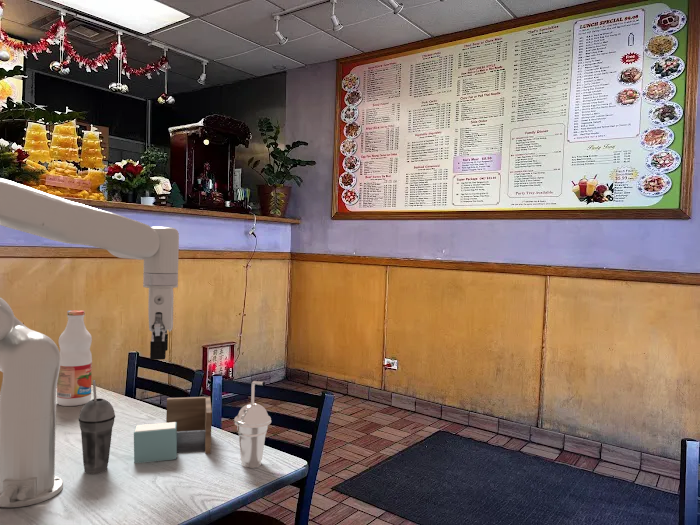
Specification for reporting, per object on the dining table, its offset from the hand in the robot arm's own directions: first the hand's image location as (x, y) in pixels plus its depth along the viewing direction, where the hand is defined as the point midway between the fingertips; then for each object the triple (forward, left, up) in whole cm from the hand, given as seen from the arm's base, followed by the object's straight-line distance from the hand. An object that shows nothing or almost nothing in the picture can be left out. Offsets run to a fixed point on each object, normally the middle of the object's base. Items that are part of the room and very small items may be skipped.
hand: (159, 354), depth 126 cm
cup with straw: (-8, -21, -24) cm, 33 cm away
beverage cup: (-5, +12, -24) cm, 27 cm away
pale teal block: (0, 0, -24) cm, 24 cm away
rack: (+7, -7, -24) cm, 26 cm away
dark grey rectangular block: (+4, -7, -24) cm, 25 cm away
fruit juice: (+50, +27, -24) cm, 62 cm away
